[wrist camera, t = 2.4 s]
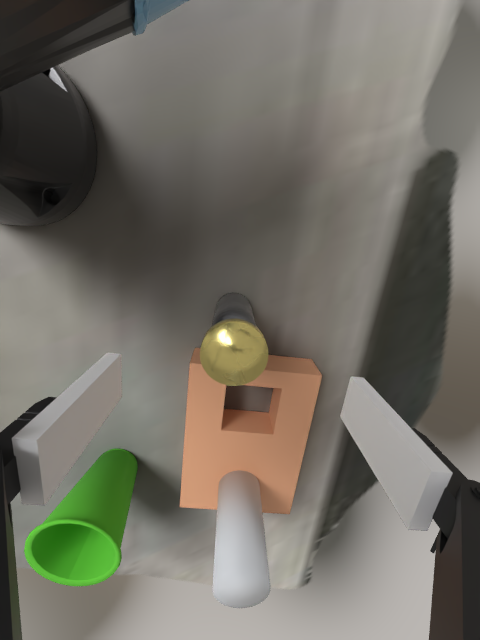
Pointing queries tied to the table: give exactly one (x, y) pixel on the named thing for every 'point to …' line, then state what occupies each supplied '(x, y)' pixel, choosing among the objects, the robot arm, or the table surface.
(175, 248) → the table surface
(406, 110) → the table surface
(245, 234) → the table surface
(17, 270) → the table surface
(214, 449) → the peach square-hole plate
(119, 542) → the cup
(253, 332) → the pin
